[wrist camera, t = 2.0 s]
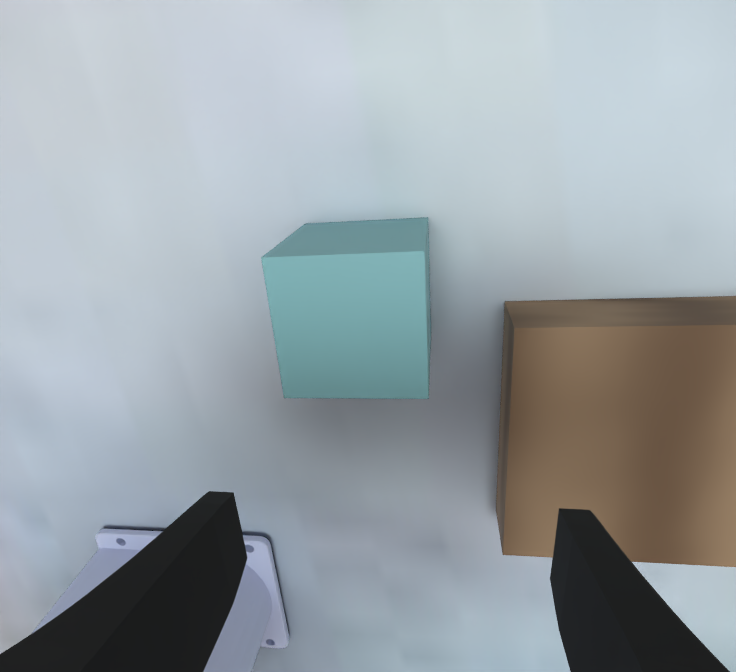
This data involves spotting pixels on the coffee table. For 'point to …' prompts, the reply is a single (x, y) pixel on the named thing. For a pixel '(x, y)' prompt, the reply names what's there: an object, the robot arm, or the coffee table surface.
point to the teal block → (352, 309)
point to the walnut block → (621, 425)
